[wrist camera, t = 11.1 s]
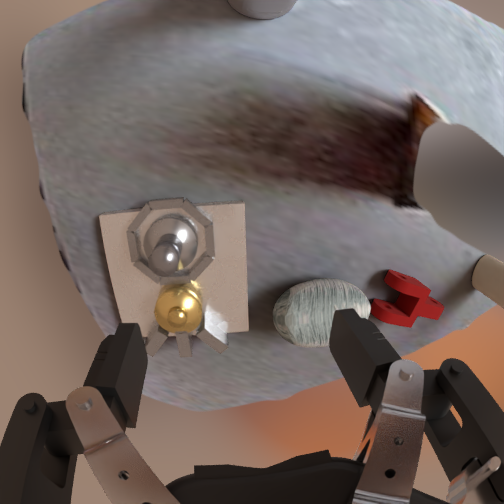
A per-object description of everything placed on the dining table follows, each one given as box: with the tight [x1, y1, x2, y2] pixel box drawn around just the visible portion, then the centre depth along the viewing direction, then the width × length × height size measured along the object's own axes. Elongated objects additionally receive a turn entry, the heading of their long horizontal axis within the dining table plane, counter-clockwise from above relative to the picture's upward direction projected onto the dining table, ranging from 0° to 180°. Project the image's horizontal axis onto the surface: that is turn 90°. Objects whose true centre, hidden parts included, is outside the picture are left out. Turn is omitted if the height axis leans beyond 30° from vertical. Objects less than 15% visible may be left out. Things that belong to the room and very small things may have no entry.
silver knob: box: [143, 215, 198, 277], centre depth 30 cm, size 6×6×7 cm
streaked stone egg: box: [273, 278, 371, 347], centre depth 38 cm, size 14×10×10 cm
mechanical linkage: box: [370, 270, 444, 328], centre depth 42 cm, size 16×7×5 cm, turn 71°
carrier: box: [99, 197, 249, 357], centre depth 34 cm, size 21×18×6 cm
